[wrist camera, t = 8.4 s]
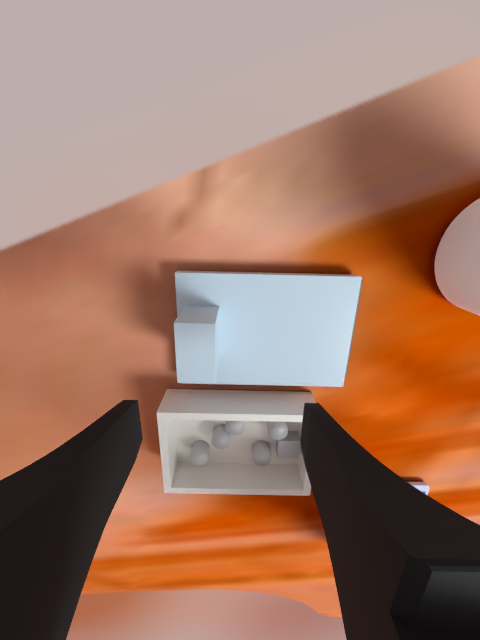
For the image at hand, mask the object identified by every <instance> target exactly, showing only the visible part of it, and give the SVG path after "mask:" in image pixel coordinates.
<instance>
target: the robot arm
mask: <svg viewBox="0 0 480 640" xmlns="http://www.w3.org/2000/svg"><path fill="white" fill-rule="evenodd" d="M142 439H143V438H142V430H141V422H140V414H139V406H138V400H123V401H122V402H120V403H119V404H117V405H116V406H115V407H113V408H112V409H111V410H109V411H108V412H107V413H105V414H104V415H103V416H102V417H100V418H99V419H98V420H96V421H95V422H94V423H92V424H91V425H90V426H88V427H87V428H86V429H84V430H83V431H81V432H80V433H79V434H77V435H76V436H74V437H73V438H71V439H70V440H68V441H67V442H65V443H64V444H63V445H61V446H60V447H58V448H57V449H55V450H54V451H52V452H50V453H49V454H47V455H46V456H44V457H42V458H41V459H39V460H37V461H36V462H34V463H32V464H30V465H29V466H27V467H25V468H23V469H22V470H20V471H18V472H16V473H14V474H12V475H10V476H8V477H6V478H4V479H3V480H1V481H0V640H66V637H67V634H68V631H69V628H70V625H71V622H72V619H73V616H74V613H75V610H76V607H77V604H78V600H79V597H80V594H81V591H82V588H83V586H84V583H85V580H86V577H87V574H88V571H89V568H90V566H91V563H92V560H93V557H94V554H95V552H96V549H97V546H98V543H99V541H100V538H101V535H102V533H103V530H104V528H105V525H106V523H107V521H108V518H109V516H110V514H111V512H112V510H113V508H114V505H115V503H116V501H117V499H118V497H119V495H120V493H121V491H122V489H123V486H124V484H125V482H126V480H127V478H128V476H129V474H130V471H131V469H132V467H133V465H134V463H135V460H136V457H137V454H138V451H139V448H140V445H141V442H142ZM300 443H301V448H302V454H303V459H304V464H305V468H306V471H307V474H308V478H309V481H310V484H311V487H312V491H313V494H314V497H315V500H316V503H317V507H318V510H319V513H320V516H321V520H322V523H323V527H324V531H325V535H326V539H327V544H328V548H329V553H330V558H331V562H332V567H333V572H334V577H335V582H336V587H337V592H338V597H339V602H340V607H341V612H342V618H343V623H344V628H345V634H346V638H347V640H480V525H478V524H476V523H474V522H472V521H470V520H468V519H467V518H465V517H463V516H461V515H459V514H458V513H456V512H454V511H452V510H451V509H449V508H447V507H446V506H444V505H442V504H440V503H439V502H437V501H436V500H434V499H432V498H431V497H429V496H427V495H428V492H429V488H430V487H429V486H428V484H427V483H425V482H406V481H405V480H403V479H402V478H401V477H399V476H398V475H396V474H395V473H394V472H392V471H391V470H390V469H389V468H387V467H386V466H385V465H383V464H382V463H381V462H379V461H378V460H377V459H376V458H375V457H373V456H372V455H371V454H370V453H369V452H368V451H366V450H365V449H364V448H363V447H362V446H361V445H360V444H358V443H357V442H356V441H355V440H354V439H353V438H352V437H351V436H350V435H349V434H348V433H347V432H346V431H345V430H344V429H343V428H342V427H341V426H340V425H339V424H338V423H337V422H336V421H335V420H334V419H333V418H332V417H331V416H330V415H329V414H328V413H327V412H326V410H325V409H324V408H323V407H322V406H321V405H320V404H319V403H304V411H303V420H302V429H301V438H300Z"/></svg>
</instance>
